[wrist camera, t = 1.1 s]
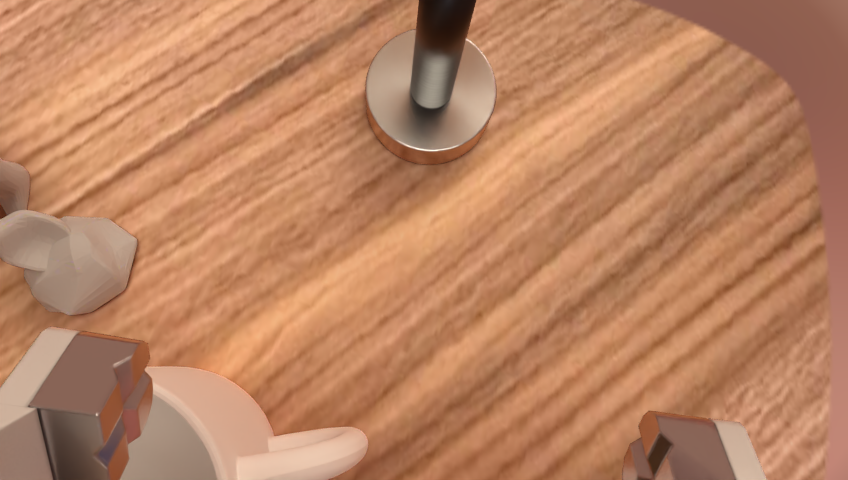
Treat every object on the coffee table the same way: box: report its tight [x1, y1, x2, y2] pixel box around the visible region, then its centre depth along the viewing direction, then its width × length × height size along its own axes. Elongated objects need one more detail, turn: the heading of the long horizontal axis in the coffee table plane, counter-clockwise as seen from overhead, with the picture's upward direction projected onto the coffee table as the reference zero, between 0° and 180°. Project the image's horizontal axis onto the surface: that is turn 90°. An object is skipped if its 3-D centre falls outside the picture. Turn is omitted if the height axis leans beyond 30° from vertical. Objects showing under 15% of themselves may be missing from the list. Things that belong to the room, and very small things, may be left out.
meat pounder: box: [365, 0, 496, 164], centre depth 25 cm, size 6×6×14 cm
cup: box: [120, 366, 368, 480], centre depth 24 cm, size 8×12×10 cm
